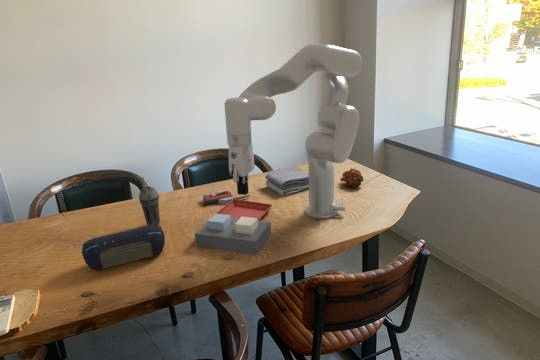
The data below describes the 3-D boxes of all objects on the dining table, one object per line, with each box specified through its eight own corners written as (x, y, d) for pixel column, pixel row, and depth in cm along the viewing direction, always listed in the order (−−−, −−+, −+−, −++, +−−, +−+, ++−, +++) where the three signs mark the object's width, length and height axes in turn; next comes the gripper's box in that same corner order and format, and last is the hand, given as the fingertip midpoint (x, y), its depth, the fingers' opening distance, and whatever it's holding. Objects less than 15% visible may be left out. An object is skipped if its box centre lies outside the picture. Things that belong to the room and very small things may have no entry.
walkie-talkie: (205, 209, 164) (251, 199, 171) (204, 199, 162) (250, 190, 170) (200, 201, 172) (244, 192, 179) (199, 192, 170) (243, 183, 177)
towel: (264, 187, 183) (263, 171, 180) (297, 178, 192) (296, 163, 189) (282, 198, 171) (282, 180, 168) (316, 187, 179) (316, 171, 177)
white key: (258, 231, 137) (257, 218, 135) (252, 239, 132) (251, 226, 130) (242, 229, 139) (241, 216, 137) (236, 237, 133) (234, 224, 132)
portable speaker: (86, 279, 120) (79, 250, 117) (86, 263, 129) (79, 235, 126) (170, 257, 130) (165, 230, 126) (164, 244, 138) (160, 218, 135)
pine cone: (359, 193, 174) (343, 189, 184) (371, 179, 175) (354, 175, 186) (349, 180, 170) (333, 176, 181) (361, 166, 172) (345, 163, 182)
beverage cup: (167, 222, 153) (159, 173, 146) (155, 231, 147) (146, 180, 140) (152, 219, 156) (144, 171, 149) (139, 228, 150) (130, 178, 143)
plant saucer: (253, 232, 143) (252, 224, 142) (210, 225, 150) (209, 217, 149) (273, 211, 159) (273, 204, 157) (233, 206, 166) (233, 198, 165)
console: (271, 234, 140) (270, 221, 139) (256, 255, 128) (255, 241, 126) (215, 227, 148) (213, 215, 146) (196, 246, 135) (194, 233, 133)
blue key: (231, 228, 140) (230, 215, 138) (224, 235, 135) (223, 222, 133) (216, 226, 142) (215, 213, 140) (209, 233, 137) (207, 220, 135)
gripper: (240, 145, 115) (244, 203, 122) (259, 133, 129) (262, 186, 135) (217, 144, 118) (222, 201, 124) (237, 132, 131) (241, 184, 137)
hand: (243, 193), depth 130 cm, fingers closed
